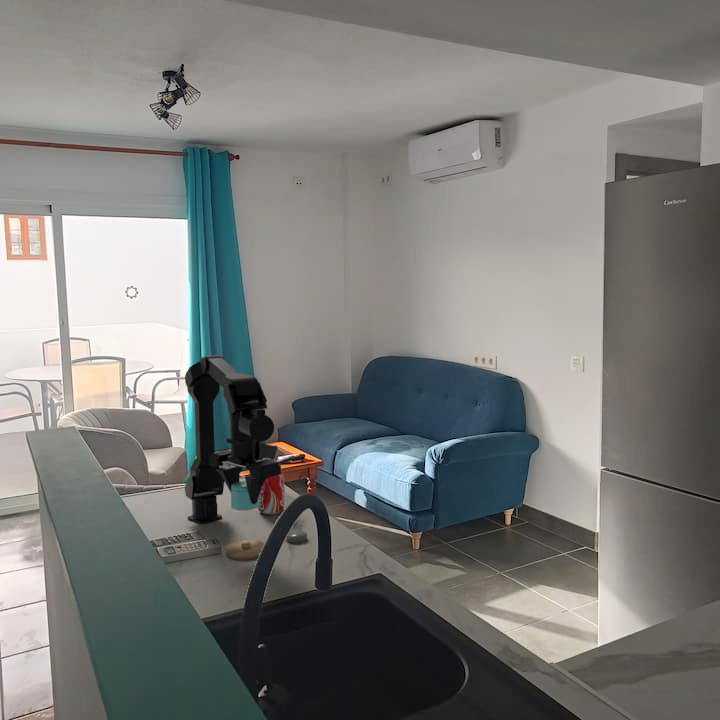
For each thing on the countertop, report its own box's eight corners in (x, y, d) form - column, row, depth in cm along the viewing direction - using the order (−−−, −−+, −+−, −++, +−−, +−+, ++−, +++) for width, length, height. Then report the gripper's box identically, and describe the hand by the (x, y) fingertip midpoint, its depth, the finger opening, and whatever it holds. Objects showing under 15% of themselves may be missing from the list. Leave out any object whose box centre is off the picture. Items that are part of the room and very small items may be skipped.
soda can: (280, 516, 187) (279, 472, 186) (254, 515, 189) (253, 470, 187) (288, 508, 194) (287, 465, 193) (263, 506, 196) (262, 463, 194)
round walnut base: (217, 552, 163) (217, 543, 162) (248, 541, 169) (248, 532, 169) (243, 562, 157) (243, 553, 156) (274, 551, 163) (274, 541, 163)
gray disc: (281, 540, 171) (281, 534, 170) (296, 535, 174) (296, 529, 174) (296, 546, 167) (295, 539, 167) (311, 540, 171) (311, 534, 171)
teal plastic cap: (226, 506, 162) (225, 485, 161) (246, 500, 166) (246, 479, 166) (243, 512, 158) (243, 490, 157) (264, 505, 162) (263, 484, 162)
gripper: (298, 432, 160) (299, 500, 162) (244, 422, 172) (245, 485, 174) (260, 441, 152) (262, 513, 153) (206, 429, 164) (208, 496, 166)
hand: (245, 501), depth 162 cm, fingers closed on teal plastic cap, 6 cm apart
